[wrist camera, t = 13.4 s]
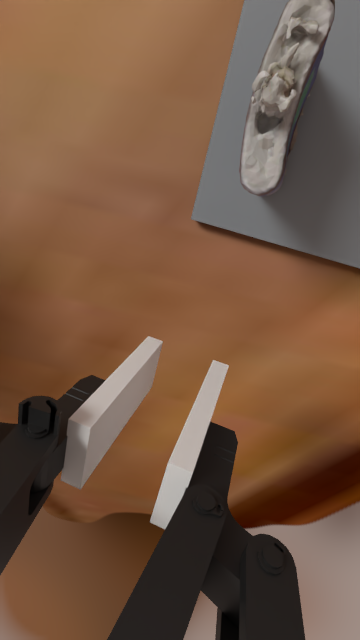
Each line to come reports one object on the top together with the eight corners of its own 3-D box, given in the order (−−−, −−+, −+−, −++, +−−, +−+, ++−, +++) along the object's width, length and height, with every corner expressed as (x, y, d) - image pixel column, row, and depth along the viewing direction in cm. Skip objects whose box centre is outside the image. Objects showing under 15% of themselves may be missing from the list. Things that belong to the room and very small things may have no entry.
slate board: (194, 218, 30) (190, 219, 29) (252, -15, 23) (250, -26, 22) (406, 279, 27) (411, 283, 25) (543, 30, 20) (557, 21, 19)
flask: (278, 198, 26) (273, 201, 16) (242, 189, 27) (216, 187, 17) (325, 55, 22) (354, -49, 13) (282, 48, 23) (278, -57, 13)
